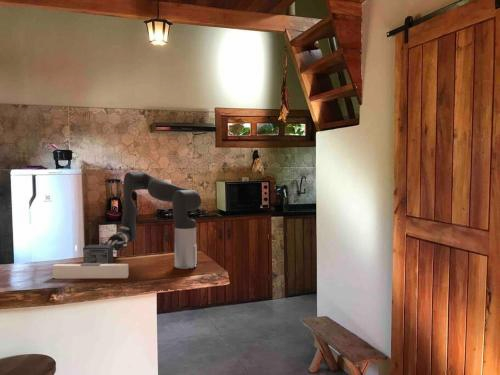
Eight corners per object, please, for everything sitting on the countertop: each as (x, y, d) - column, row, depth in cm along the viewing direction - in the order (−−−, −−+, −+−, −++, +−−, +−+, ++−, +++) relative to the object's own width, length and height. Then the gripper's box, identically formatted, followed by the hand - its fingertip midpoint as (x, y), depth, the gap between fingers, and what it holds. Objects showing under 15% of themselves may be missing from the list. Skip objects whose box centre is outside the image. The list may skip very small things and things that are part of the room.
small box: (114, 268, 165) (113, 244, 165) (109, 273, 159) (109, 247, 158) (88, 268, 165) (88, 244, 164) (83, 273, 158) (82, 247, 158)
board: (128, 276, 155) (128, 262, 154) (126, 278, 152) (126, 264, 152) (55, 276, 153) (55, 263, 153) (52, 278, 151) (52, 264, 150)
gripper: (104, 233, 190) (92, 240, 173) (131, 233, 191) (122, 240, 174) (104, 248, 191) (92, 257, 174) (131, 248, 192) (122, 257, 175)
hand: (107, 249), depth 174 cm, fingers closed
